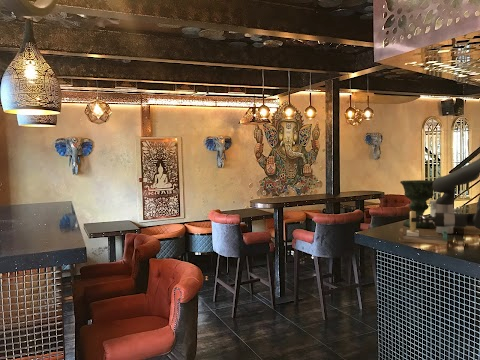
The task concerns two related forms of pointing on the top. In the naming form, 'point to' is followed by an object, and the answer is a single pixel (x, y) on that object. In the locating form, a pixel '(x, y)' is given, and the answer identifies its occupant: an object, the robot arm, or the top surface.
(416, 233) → the carriage
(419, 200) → the goblet
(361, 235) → the top surface
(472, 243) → the top surface
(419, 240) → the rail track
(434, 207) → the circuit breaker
